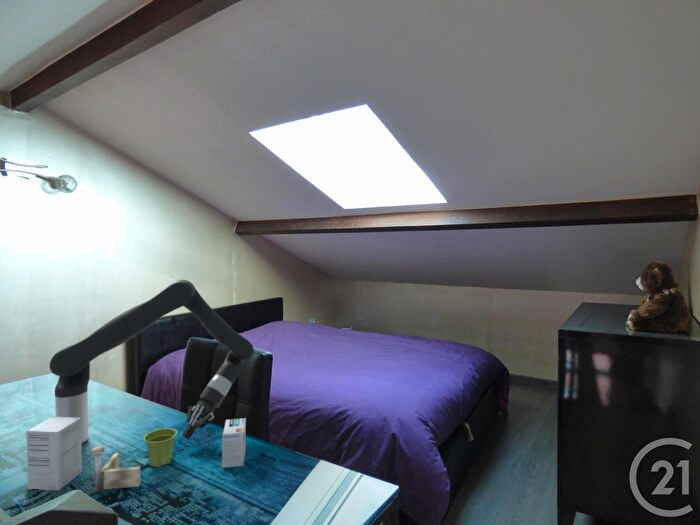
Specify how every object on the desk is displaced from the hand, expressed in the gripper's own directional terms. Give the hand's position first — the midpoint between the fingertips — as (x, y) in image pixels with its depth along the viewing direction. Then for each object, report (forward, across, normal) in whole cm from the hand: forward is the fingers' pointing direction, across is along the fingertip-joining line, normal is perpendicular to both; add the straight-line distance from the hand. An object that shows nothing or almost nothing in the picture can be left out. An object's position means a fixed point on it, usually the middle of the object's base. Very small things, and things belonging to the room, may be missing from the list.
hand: (185, 437), depth 130 cm
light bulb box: (-1, +17, +8) cm, 19 cm away
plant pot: (+9, 0, -3) cm, 10 cm away
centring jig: (+19, 0, -13) cm, 23 cm away
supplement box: (+26, -15, -19) cm, 35 cm away
